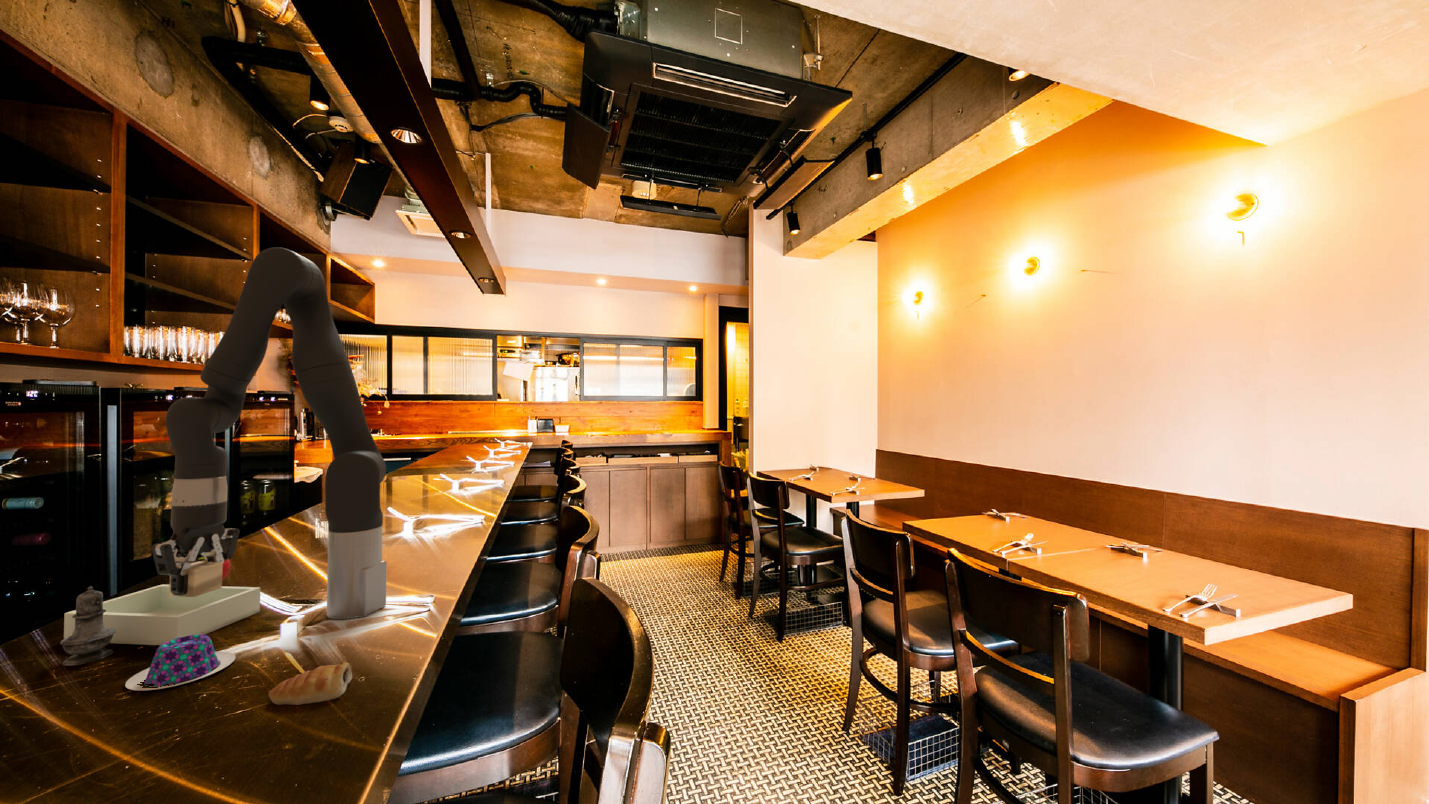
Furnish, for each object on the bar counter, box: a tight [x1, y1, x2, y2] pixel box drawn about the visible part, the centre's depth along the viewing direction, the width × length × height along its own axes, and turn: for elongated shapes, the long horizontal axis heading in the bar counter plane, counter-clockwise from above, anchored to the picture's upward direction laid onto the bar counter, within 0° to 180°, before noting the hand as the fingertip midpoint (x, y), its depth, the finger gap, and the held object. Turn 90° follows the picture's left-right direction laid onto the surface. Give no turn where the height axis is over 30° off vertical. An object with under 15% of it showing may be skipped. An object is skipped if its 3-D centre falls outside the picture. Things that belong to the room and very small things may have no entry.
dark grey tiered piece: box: [59, 585, 116, 667], centre depth 84 cm, size 6×6×12 cm
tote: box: [63, 584, 261, 646], centre depth 97 cm, size 22×15×5 cm
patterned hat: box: [124, 634, 236, 691], centre depth 80 cm, size 12×12×5 cm
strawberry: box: [198, 556, 232, 582], centre depth 115 cm, size 6×8×10 cm
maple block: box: [168, 560, 223, 597], centre depth 96 cm, size 5×5×5 cm
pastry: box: [268, 661, 353, 706], centre depth 74 cm, size 9×7×4 cm
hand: (196, 589), depth 96 cm, fingers closed on maple block, 5 cm apart
